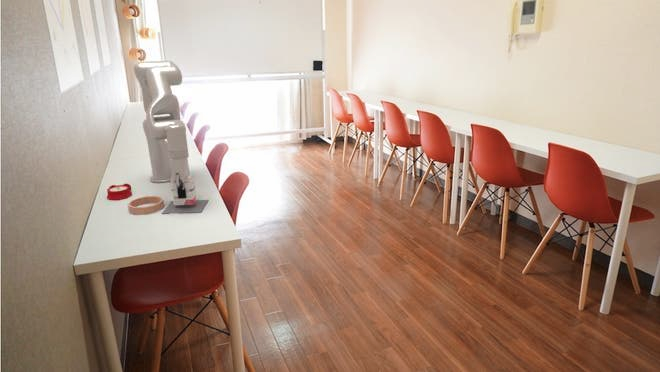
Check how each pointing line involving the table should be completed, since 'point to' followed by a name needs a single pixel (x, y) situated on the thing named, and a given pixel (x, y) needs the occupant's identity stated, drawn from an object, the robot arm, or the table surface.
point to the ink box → (190, 192)
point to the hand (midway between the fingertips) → (184, 195)
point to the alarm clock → (119, 192)
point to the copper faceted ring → (147, 209)
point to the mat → (186, 207)
